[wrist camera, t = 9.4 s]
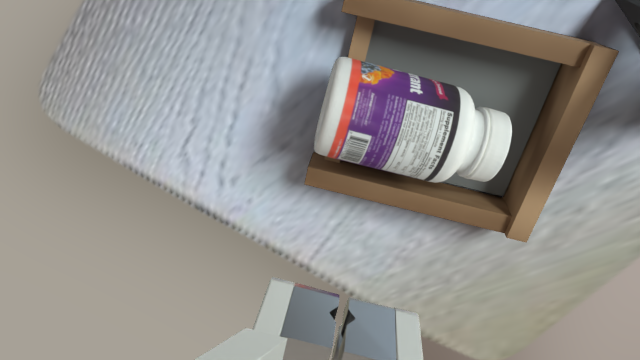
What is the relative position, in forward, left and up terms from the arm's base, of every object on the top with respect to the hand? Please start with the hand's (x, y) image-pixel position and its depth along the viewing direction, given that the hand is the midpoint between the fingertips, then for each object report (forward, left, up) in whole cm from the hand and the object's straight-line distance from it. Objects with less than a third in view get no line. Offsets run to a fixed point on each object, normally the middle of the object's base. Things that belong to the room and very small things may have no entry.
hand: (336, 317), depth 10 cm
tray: (0, +4, -20) cm, 20 cm away
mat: (0, +4, -20) cm, 20 cm away
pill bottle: (0, -2, -16) cm, 16 cm away
